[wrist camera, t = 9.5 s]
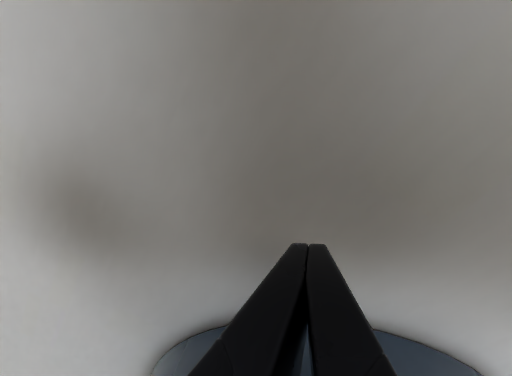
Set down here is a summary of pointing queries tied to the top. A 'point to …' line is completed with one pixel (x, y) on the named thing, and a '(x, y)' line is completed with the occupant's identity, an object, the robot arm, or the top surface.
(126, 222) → the top surface
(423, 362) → the plate
